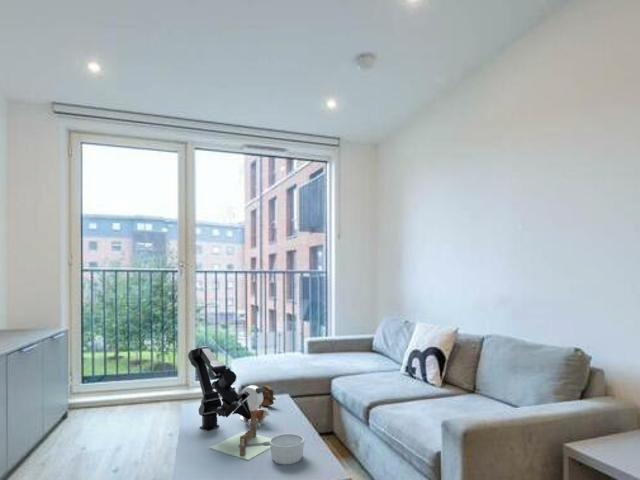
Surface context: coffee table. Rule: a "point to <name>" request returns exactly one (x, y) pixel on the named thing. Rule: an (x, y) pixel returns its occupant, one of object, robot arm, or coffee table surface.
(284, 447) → the ramekin
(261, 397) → the white rounded piece
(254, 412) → the fence swing panel
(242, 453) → the fence fixed panel
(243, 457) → the card
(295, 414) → the coffee table surface
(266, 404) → the wooden carving
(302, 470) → the coffee table surface
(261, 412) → the bull figurine
